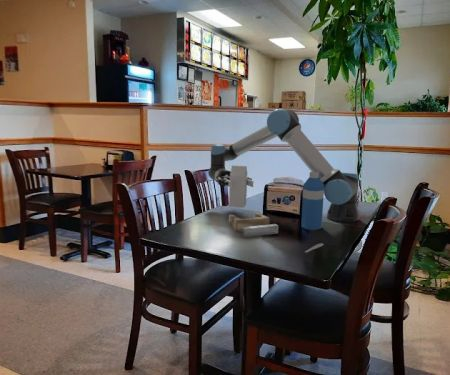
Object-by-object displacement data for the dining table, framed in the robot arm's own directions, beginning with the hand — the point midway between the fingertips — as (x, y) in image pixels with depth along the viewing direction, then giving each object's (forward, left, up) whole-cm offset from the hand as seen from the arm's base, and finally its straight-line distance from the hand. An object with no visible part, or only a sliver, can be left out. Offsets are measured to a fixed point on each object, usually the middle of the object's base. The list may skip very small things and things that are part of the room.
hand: (242, 184), depth 171 cm
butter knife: (-41, +16, -19) cm, 48 cm away
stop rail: (-16, +9, -18) cm, 26 cm away
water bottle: (-28, -16, -18) cm, 37 cm away
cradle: (-6, +3, -18) cm, 20 cm away
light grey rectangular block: (+4, -2, -11) cm, 12 cm away
